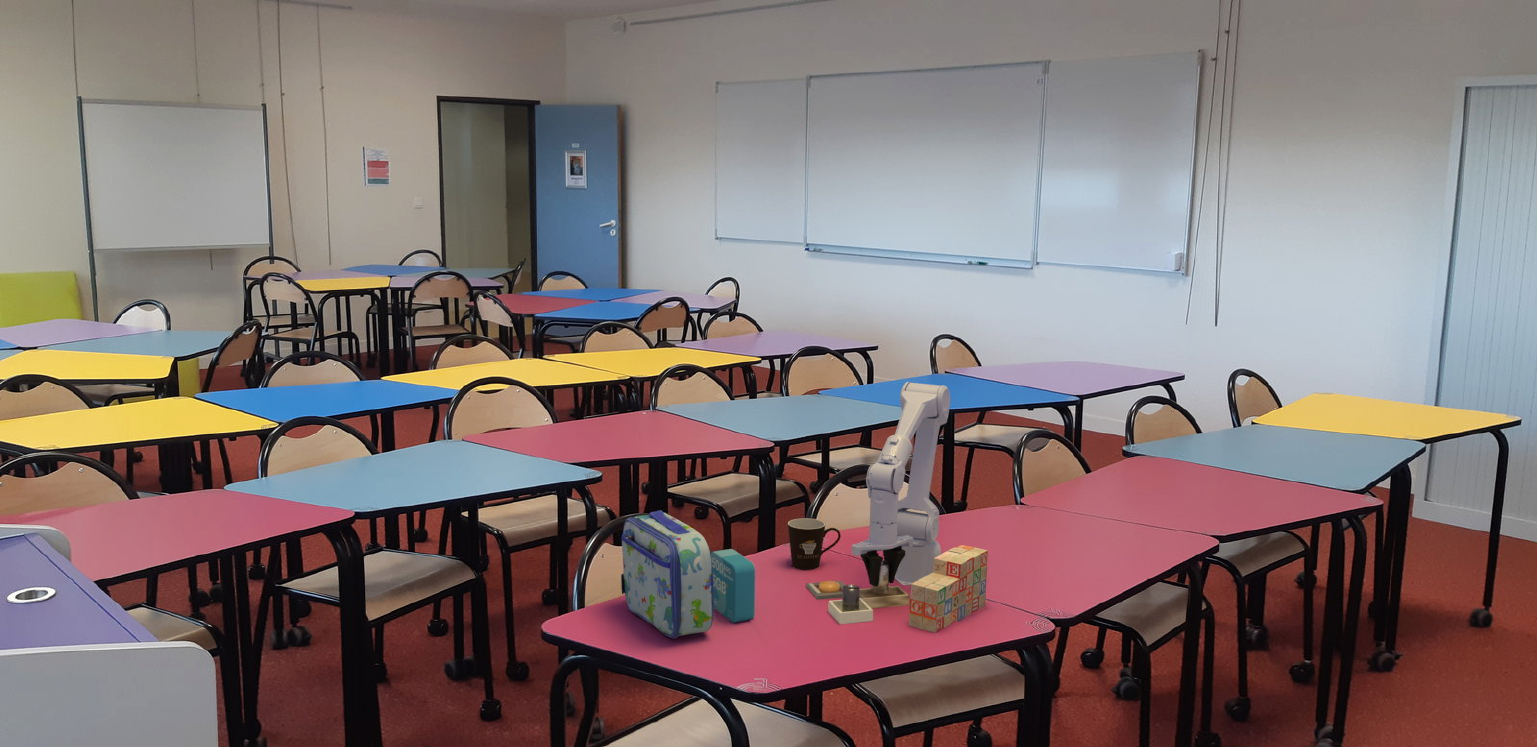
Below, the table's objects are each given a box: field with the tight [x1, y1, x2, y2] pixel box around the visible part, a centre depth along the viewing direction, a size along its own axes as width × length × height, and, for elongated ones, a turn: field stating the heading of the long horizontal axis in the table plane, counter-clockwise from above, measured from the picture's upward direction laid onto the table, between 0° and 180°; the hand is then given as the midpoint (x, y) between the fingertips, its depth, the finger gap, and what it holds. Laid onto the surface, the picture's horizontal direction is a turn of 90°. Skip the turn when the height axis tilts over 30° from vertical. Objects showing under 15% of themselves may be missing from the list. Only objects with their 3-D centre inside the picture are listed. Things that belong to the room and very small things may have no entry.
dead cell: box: [841, 584, 861, 612], centre depth 221 cm, size 3×3×6 cm
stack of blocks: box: [908, 544, 989, 633], centre depth 223 cm, size 21×6×12 cm, turn 142°
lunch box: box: [620, 509, 715, 639], centre depth 217 cm, size 26×11×21 cm, turn 29°
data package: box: [710, 548, 756, 623], centre depth 222 cm, size 12×4×12 cm, turn 27°
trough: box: [859, 585, 910, 609], centre depth 229 cm, size 10×6×3 cm, turn 106°
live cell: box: [871, 559, 890, 594], centre depth 229 cm, size 3×3×6 cm
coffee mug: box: [787, 517, 842, 571], centre depth 252 cm, size 12×9×10 cm
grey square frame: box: [805, 580, 846, 600], centre depth 235 cm, size 8×8×2 cm
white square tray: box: [827, 598, 874, 625], centre depth 221 cm, size 7×7×3 cm
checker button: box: [818, 580, 841, 593], centre depth 235 cm, size 4×4×2 cm
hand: (881, 583), depth 229 cm, fingers closed on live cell, 3 cm apart
